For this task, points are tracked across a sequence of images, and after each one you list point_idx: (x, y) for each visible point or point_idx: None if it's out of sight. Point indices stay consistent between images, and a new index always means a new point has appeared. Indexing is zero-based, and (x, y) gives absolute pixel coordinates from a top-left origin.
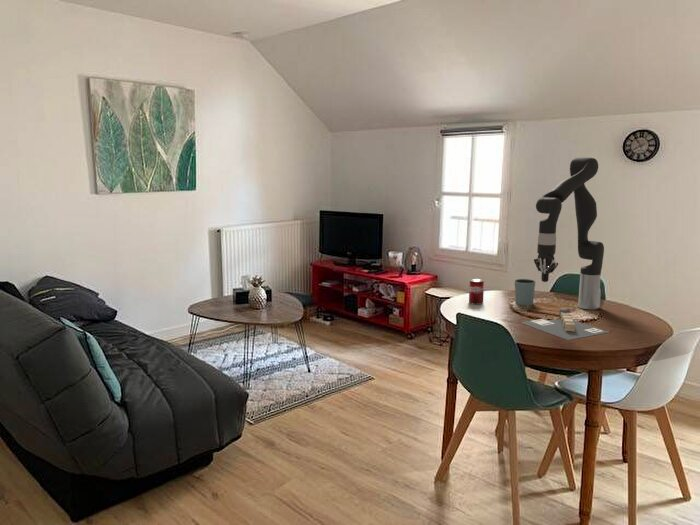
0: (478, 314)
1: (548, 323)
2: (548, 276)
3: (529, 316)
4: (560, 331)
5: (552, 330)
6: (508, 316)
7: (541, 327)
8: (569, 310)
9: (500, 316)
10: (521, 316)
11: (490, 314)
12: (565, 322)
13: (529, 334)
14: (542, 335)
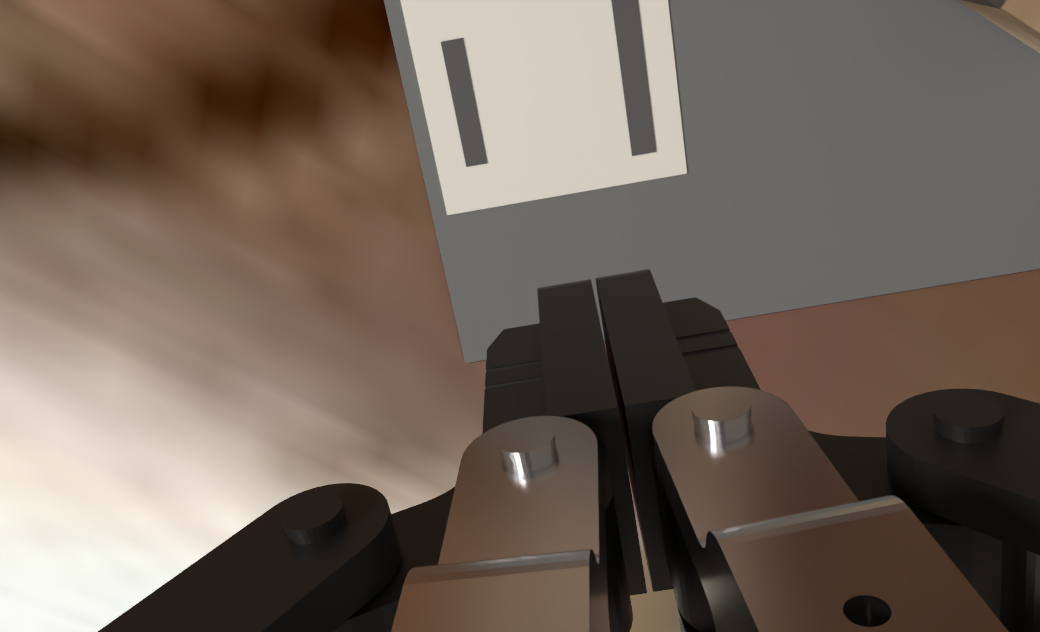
0: (39, 620)
1: (631, 44)
2: (747, 368)
3: (215, 87)
4: (988, 105)
5: (908, 178)
6: (171, 355)
7: (747, 237)
8: None
9: (157, 442)
10: (197, 196)
11: (52, 506)
12: (1034, 26)
13: None
14: (994, 386)
